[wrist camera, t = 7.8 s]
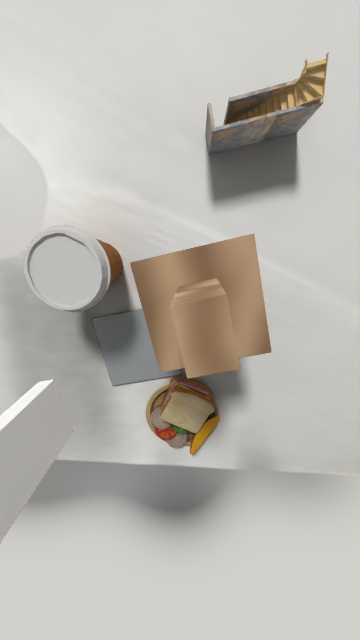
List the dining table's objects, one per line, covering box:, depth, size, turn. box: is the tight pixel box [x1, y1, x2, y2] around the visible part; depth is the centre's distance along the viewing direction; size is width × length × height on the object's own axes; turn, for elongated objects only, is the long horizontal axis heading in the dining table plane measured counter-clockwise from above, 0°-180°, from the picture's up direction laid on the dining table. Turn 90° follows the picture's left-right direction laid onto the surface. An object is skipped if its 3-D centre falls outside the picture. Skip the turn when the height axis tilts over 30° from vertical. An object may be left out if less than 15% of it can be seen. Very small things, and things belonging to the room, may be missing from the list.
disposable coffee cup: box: [24, 225, 122, 312], centre depth 34 cm, size 10×10×12 cm
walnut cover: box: [130, 234, 271, 379], centre depth 21 cm, size 11×11×9 cm
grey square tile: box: [92, 309, 181, 386], centre depth 42 cm, size 12×12×1 cm
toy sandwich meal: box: [146, 377, 220, 455], centre depth 43 cm, size 12×14×5 cm
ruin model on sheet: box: [206, 53, 328, 155], centre depth 29 cm, size 11×3×10 cm, turn 102°
